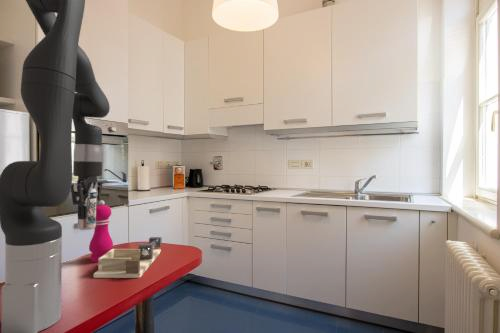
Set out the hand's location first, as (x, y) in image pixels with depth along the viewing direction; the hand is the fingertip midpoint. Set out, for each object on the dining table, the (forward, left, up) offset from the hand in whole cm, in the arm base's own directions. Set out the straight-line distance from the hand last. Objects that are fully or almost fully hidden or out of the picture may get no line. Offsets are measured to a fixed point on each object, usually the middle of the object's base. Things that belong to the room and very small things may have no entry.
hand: (87, 217), depth 85 cm
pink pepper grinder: (+11, +1, -17) cm, 20 cm away
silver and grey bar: (+14, -15, -15) cm, 25 cm away
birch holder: (+7, -11, -17) cm, 21 cm away
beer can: (0, 0, -4) cm, 4 cm away
